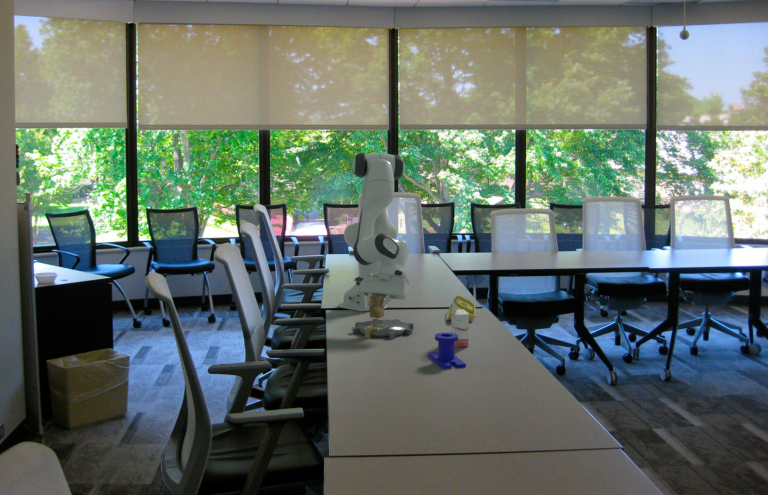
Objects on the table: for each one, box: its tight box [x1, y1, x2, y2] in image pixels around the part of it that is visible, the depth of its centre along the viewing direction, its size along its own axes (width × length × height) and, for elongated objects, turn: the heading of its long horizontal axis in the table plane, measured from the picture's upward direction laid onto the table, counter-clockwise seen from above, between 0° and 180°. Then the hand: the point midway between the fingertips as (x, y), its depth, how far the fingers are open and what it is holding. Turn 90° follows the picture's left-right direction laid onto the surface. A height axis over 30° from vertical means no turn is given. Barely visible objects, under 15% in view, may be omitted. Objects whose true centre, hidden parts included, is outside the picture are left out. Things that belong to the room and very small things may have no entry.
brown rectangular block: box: [369, 295, 385, 319], centre depth 233 cm, size 4×4×8 cm
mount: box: [427, 332, 467, 370], centre depth 200 cm, size 15×8×9 cm, turn 14°
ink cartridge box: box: [450, 301, 470, 348], centre depth 220 cm, size 9×5×15 cm, turn 5°
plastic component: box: [445, 295, 476, 323], centre depth 262 cm, size 20×7×10 cm
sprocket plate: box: [351, 318, 414, 340], centre depth 239 cm, size 24×24×3 cm
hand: (376, 305), depth 233 cm, fingers closed on brown rectangular block, 4 cm apart
